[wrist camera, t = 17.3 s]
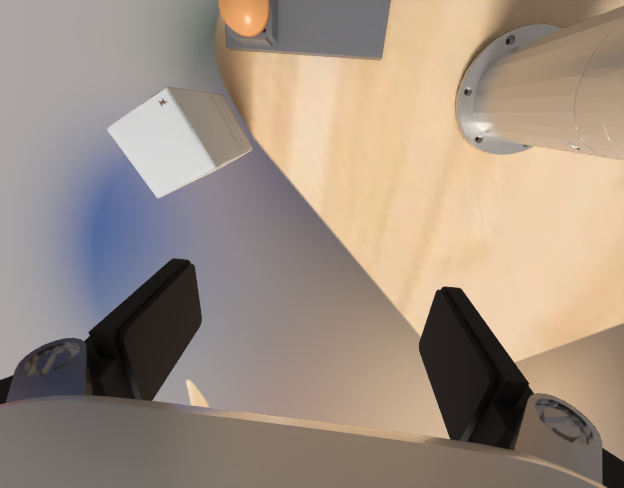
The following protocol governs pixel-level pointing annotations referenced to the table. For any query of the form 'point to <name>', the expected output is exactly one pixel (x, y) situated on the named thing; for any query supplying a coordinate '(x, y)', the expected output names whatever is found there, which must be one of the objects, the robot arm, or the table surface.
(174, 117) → the supplement box
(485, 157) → the table surface
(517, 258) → the table surface
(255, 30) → the glossy orange sphere
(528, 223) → the table surface
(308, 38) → the grey compartment tray
